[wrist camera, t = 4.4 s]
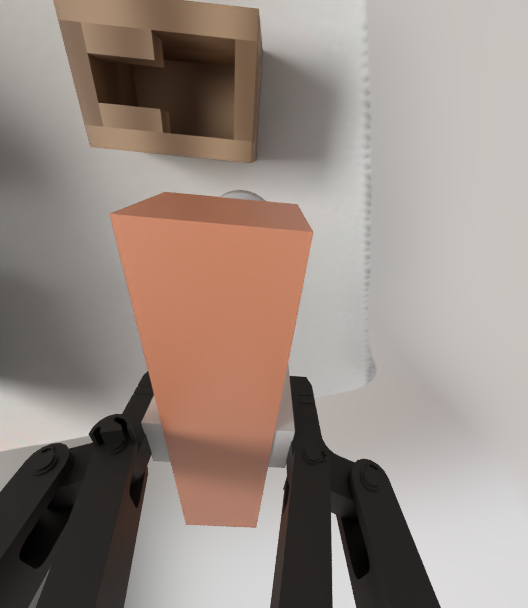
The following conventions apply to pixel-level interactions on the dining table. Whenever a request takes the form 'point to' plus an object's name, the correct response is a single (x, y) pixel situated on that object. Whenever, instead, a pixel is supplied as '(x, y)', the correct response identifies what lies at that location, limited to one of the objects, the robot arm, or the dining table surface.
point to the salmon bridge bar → (215, 335)
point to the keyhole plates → (166, 75)
